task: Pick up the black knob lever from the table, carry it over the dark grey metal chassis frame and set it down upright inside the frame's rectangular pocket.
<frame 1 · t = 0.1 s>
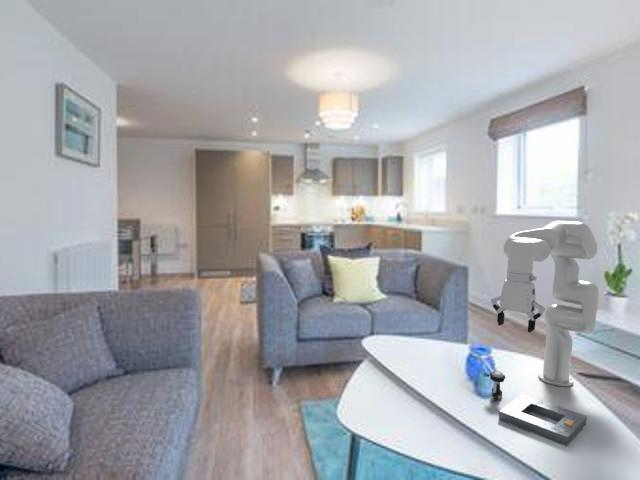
hand: (515, 328, 146), 31 cm above the table, tool pointing down, fingers open, 9 cm apart
chassis frame: (542, 422, 146), on the table
black knob lever: (494, 399, 162), on the table
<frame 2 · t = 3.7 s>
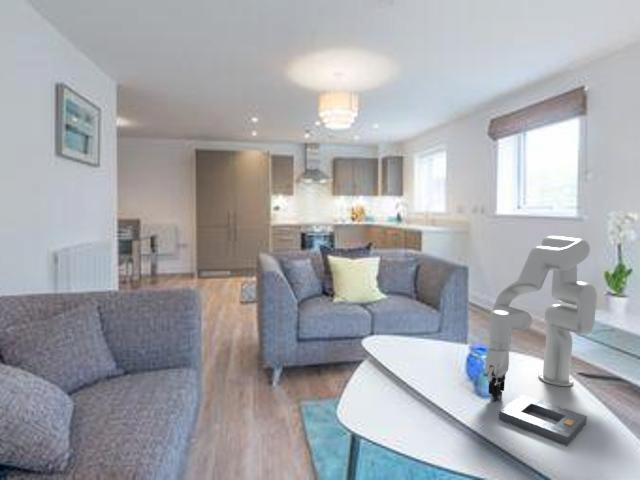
hand: (496, 391, 162), 3 cm above the table, tool pointing down, fingers closed on black knob lever, 4 cm apart
black knob lever: (494, 399, 162), on the table, touching gripper
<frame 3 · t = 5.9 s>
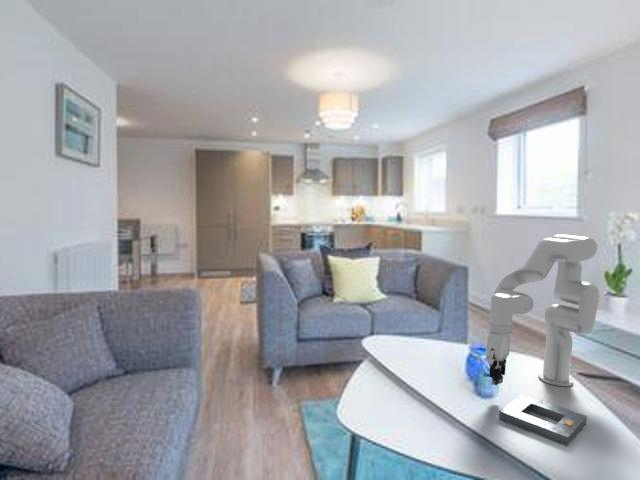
hand: (497, 375, 161), 9 cm above the table, tool pointing down, fingers closed on black knob lever, 4 cm apart
black knob lever: (495, 384, 161), point 6 cm above the table, touching gripper
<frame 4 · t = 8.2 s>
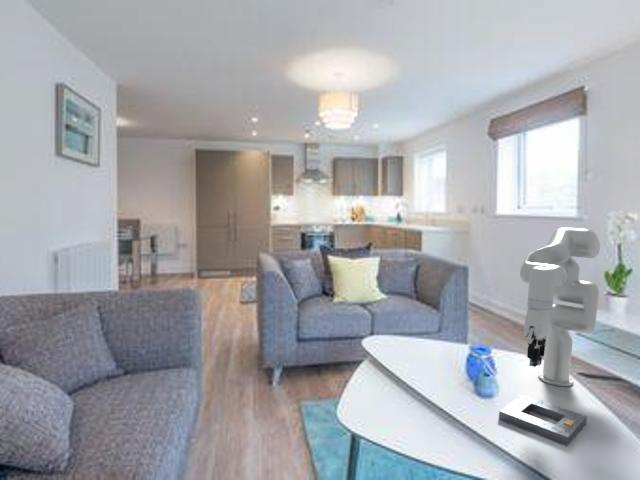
hand: (535, 356, 147), 21 cm above the table, tool pointing down, fingers closed on black knob lever, 4 cm apart
black knob lever: (533, 365, 147), point 18 cm above the table, touching gripper
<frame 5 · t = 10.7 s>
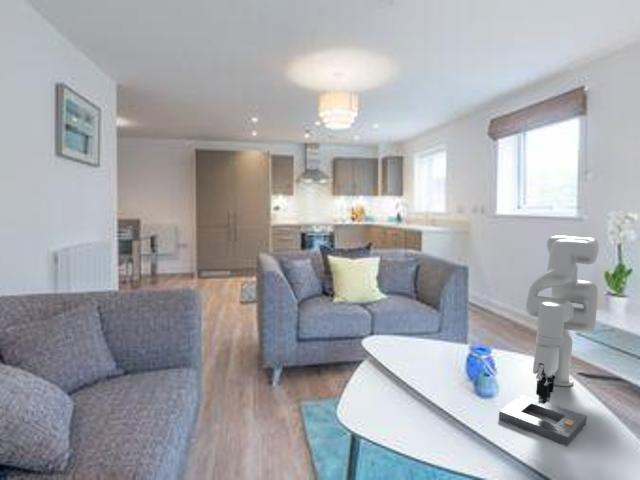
hand: (544, 392, 145), 10 cm above the table, tool pointing down, fingers closed on black knob lever, 4 cm apart
black knob lever: (542, 402, 145), point 7 cm above the table, touching gripper
when the fingers open (5 cm above the table, at t = 12.6 s): black knob lever drops 2 cm, resting in chassis frame.
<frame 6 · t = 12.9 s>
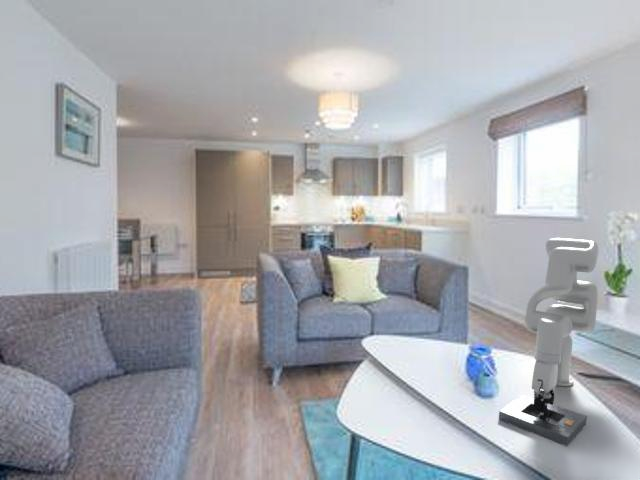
hand: (543, 406, 146), 5 cm above the table, tool pointing down, fingers open, 7 cm apart
black knob lever: (541, 422, 146), resting in chassis frame
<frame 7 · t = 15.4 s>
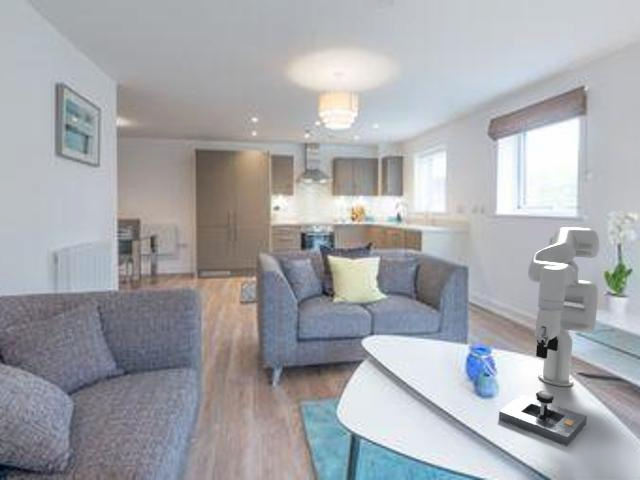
hand: (546, 353, 146), 23 cm above the table, tool pointing down, fingers open, 9 cm apart
nothing on the table moved.
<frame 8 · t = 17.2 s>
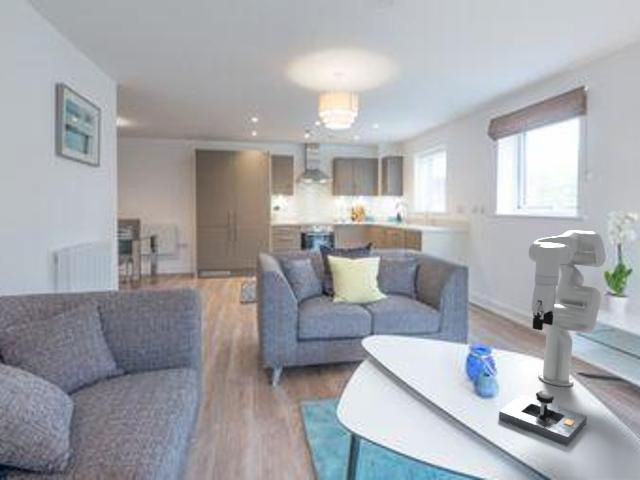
hand: (542, 326, 158), 28 cm above the table, tool pointing down, fingers open, 9 cm apart
nothing on the table moved.
at the end: black knob lever 0.1 cm off-centre on the chassis frame, point 0.0 cm above the chassis frame's base; black knob lever tilted 0°; the gripper is holding nothing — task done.
